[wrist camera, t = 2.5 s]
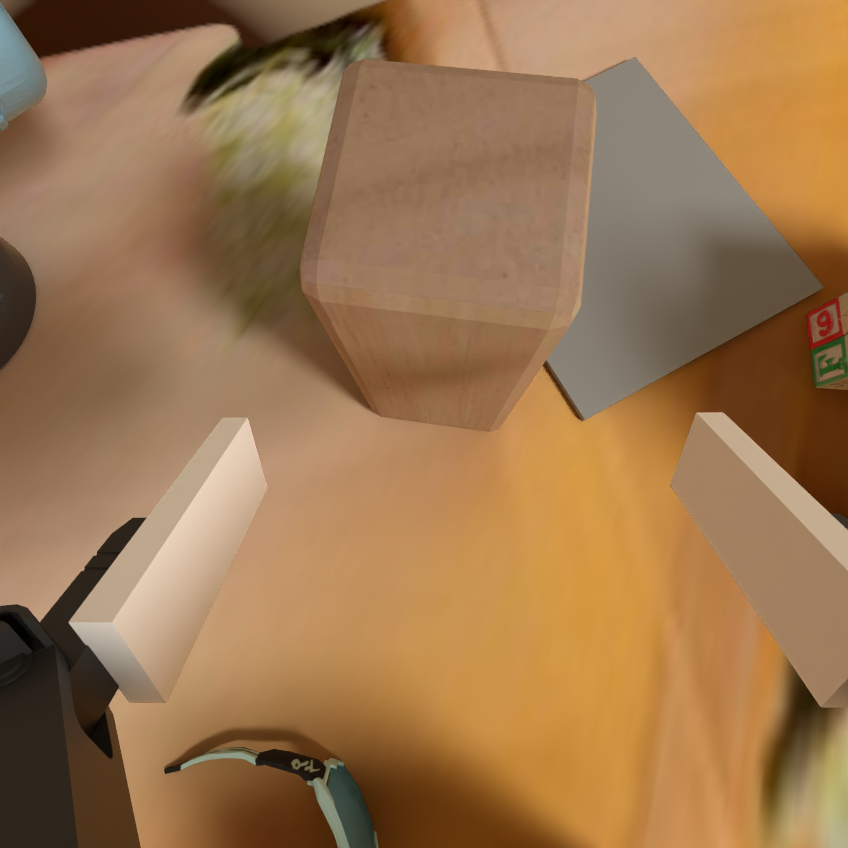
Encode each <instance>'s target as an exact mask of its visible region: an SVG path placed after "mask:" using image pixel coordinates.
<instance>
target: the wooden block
mask: <svg viewBox="0 0 848 848" xmlns="http://www.w3.org/2000/svg"><path fill="white" fill-rule="evenodd" d="M596 116H597V112H596V98H595V94H594V91H593V89H592V86H590V85H588V84H586V83H584V82H582V81H581V80H579V79H574V78H564V77H553V76H542V75H531V74H520V73H509V72H499V71H488V70H477V69H466V68H455V67H444V66H434V65H423V64H412V63H401V62H390V61H379V60H369V59H364V60H361V61H357V62H354V63H351V64H349V66H348V67H347V68H346V69H345V71H344V72H343V75H342V80H341V84H340V88H339V93H338V97H337V102H336V106H335V110H334V115H333V119H332V123H331V128H330V132H329V137H328V141H327V145H326V150H325V154H324V159H323V163H322V167H321V172H320V176H319V181H318V185H317V189H316V194H315V198H314V202H313V207H312V211H311V216H310V220H309V224H308V229H307V233H306V238H305V242H304V246H303V251H302V255H301V260H300V264H299V269H298V275H299V280H300V285H301V289H302V292H303V294H304V296H305V297H306V299H307V301H308V302H309V304H310V306H311V308H312V309H313V311H314V313H315V314H316V316H317V318H318V319H319V321H320V323H321V324H322V326H323V328H324V329H325V331H326V333H327V335H328V336H329V338H330V340H331V341H332V343H333V345H334V346H335V348H336V350H337V351H338V353H339V355H340V357H341V358H342V360H343V362H344V363H345V365H346V367H347V368H348V370H349V372H350V373H351V375H352V377H353V378H354V380H355V382H356V384H357V385H358V387H359V389H360V390H361V392H362V394H363V395H364V397H365V399H366V400H367V402H368V404H369V406H370V407H371V409H372V411H373V412H375V413H376V414H378V415H380V416H381V417H387V418H394V419H401V420H408V421H416V422H423V423H430V424H437V425H444V426H452V427H459V428H466V429H473V430H480V431H487V432H489V431H493V430H497V429H499V428H500V426H501V425H502V423H503V422H504V421H505V419H506V418H507V416H508V415H509V413H510V412H511V410H512V409H513V407H514V406H515V405H516V403H517V402H518V400H519V399H520V397H521V396H522V394H523V393H524V392H525V390H526V389H527V387H528V386H529V384H530V383H531V381H532V380H533V378H534V377H535V376H536V374H537V373H538V371H539V370H540V368H541V367H542V365H543V364H544V363H545V361H546V360H547V358H548V357H549V355H550V354H551V352H552V351H553V349H554V348H555V347H556V345H557V344H558V342H559V341H560V339H561V338H562V336H563V335H564V333H565V332H566V331H567V329H568V328H569V326H570V325H571V323H572V321H573V320H574V318H575V316H576V314H577V313H578V311H579V309H580V307H581V299H582V287H583V274H584V262H585V250H586V238H587V226H588V214H589V202H590V189H591V177H592V165H593V153H594V141H595V129H596Z"/></svg>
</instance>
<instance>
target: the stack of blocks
mask: <svg viewBox="0 0 848 848" xmlns="http://www.w3.org/2000/svg"><path fill="white" fill-rule="evenodd" d="M806 317H807V326H808V334H809V343H810V349H811V354H812V363H813V373H814V382H815V388H824V389H839V390H848V292H847V293H845V294H843V295H841V296H838V297H836V298H835V299H833V300H831V301H829V302H827V303H826V304H824V305H822V306H821V307H819V308H817V309H815V310H813V311H811V312H809V313H808V314H807V315H806Z"/></svg>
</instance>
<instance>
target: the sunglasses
mask: <svg viewBox="0 0 848 848" xmlns="http://www.w3.org/2000/svg"><path fill="white" fill-rule="evenodd" d="M223 758H236V759H244V760H246V761H248V762H250V763H252V764H254V765H256V766H258V765H267V766H271V767H274V768H278V769H281V770H285V771H288V772H291V773H295V774H298V775H300V776H301V777H302V778H303V779H304V780H305V781H307V785H310V786H313V787H314V789H315V793H316V798H317V801H318V803H319V805H320V807H321V809H322V811H323V813H324V815H325V817H326V819H327V821H328V823H329V825H330V827H331V829H332V832H333V834H334V836H335V839H336V843H337V846H338V848H379V847H378V840H377V834H376V831H374V829H373V824H372V820H371V818H370V815H369V812H368V809H367V807H366V804H365V801H364V798H363V796H362V793H361V791H360V789H359V787H358V785H357V784H356V782H355V781H354V779H353V778H352V776H351V775H350V773H349V772H348V771H347V769H346V768H345V766H344V762H342V761H340V760H337V759H334V758H330V759H329V760H328V761H327V760H326V759H325V761H324V763H322V762H321V761H319V760H318V759H315V758H311V757H307V756H304V755H300V754H297V753H293V752H289V751H282V750H276V749H273V750H269V751H265V752H262V753H260V752H257V751H253V750H250V749H247V748H244V747H239V748H225V749H220V750H215V751H209V752H207V753H204V754H202V755H200V756H197V757H195V758H193V759H190V760H188V761H186V762H184V763H181V764H179V765H177V766H174V767H173V766H172V767H169V768H167V769H165V770H164V772H165V774H167V773H171V772H176V771H180V770H182V769H184V768H186V767H188V766H191V765H193V764H195V763H199V762H202V761H206V760H212V759H223ZM329 773H331V774H330V778H329V782H328V785H326V783H327V779H328V776H329Z"/></svg>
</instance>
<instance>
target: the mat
mask: <svg viewBox="0 0 848 848" xmlns="http://www.w3.org/2000/svg"><path fill="white" fill-rule="evenodd" d="M584 83H586V84H588V85H590V86H592V89H593V91H594V94H595V98H596V112H597V116H596V129H595V141H594V153H593V165H592V177H591V189H590V202H589V214H588V226H587V238H586V250H585V262H584V274H583V287H582V299H581V307H580V309H579V311H578V313H577V314H576V316H575V318H574V320H573V321H572V323H571V325H570V326H569V328H568V329H567V331H566V332H565V333H564V335H563V336H562V338H561V339H560V341H559V342H558V344H557V345H556V347H555V348H554V349H553V351H552V352H551V354H550V355H549V357H548V358H547V360H546V361H545V364H546V365H547V367H548V368H549V370H550V372H551V373H552V375H553V376H554V378H555V379H556V381H557V382H558V384H559V386H560V387H561V389H562V390H563V392H564V393H565V395H566V397H567V398H568V400H569V401H570V403H571V404H572V406H573V408H574V409H575V411H576V412H577V414H578V415H579V417H580V419H581V420H582V421H584V420H586V419H587V418H589V417H591V416H593V415H595V414H596V413H598V412H600V411H602V410H604V409H605V408H607V407H609V406H611V405H613V404H615V403H616V402H618V401H620V400H622V399H624V398H625V397H627V396H629V395H631V394H633V393H635V392H636V391H638V390H640V389H642V388H644V387H645V386H647V385H649V384H651V383H653V382H654V381H656V380H658V379H660V378H662V377H664V376H665V375H667V374H669V373H671V372H673V371H674V370H676V369H678V368H680V367H682V366H683V365H685V364H687V363H689V362H691V361H693V360H694V359H696V358H698V357H700V356H702V355H703V354H705V353H707V352H709V351H711V350H713V349H714V348H716V347H718V346H720V345H722V344H723V343H725V342H727V341H729V340H731V339H732V338H734V337H736V336H738V335H740V334H742V333H743V332H745V331H747V330H749V329H751V328H752V327H754V326H756V325H758V324H760V323H761V322H763V321H765V320H767V319H769V318H771V317H772V316H774V315H776V314H778V313H780V312H781V311H783V310H785V309H787V308H789V307H790V306H792V305H794V304H796V303H798V302H800V301H801V300H803V299H805V298H807V297H809V296H810V295H812V294H814V293H816V292H818V291H819V290H821V289H823V288H824V286H823V285H822V284H821V283H820V282H819V280H818V279H817V278H816V277H815V275H814V274H813V273H812V272H811V271H810V269H809V268H808V267H807V266H806V264H805V263H804V262H803V261H802V260H801V258H800V257H799V256H798V255H797V253H796V252H795V251H794V250H793V249H792V247H791V246H790V245H789V244H788V243H787V241H786V240H785V239H784V238H783V236H782V235H781V234H780V233H779V232H778V230H777V229H776V228H775V227H774V225H773V224H772V223H771V222H770V221H769V219H768V218H767V217H766V216H765V214H764V213H763V212H762V211H761V210H760V208H759V207H758V206H757V205H756V203H755V202H754V201H753V200H752V199H751V197H750V196H749V195H748V194H747V193H746V191H745V190H744V189H743V188H742V186H741V185H740V184H739V183H738V182H737V180H736V179H735V178H734V177H733V175H732V174H731V173H730V172H729V171H728V169H727V168H726V167H725V166H724V164H723V163H722V162H721V161H720V160H719V158H718V157H717V156H716V155H715V153H714V152H713V151H712V150H711V149H710V147H709V146H708V145H707V144H706V143H705V141H704V140H703V139H702V138H701V136H700V135H699V134H698V133H697V132H696V130H695V129H694V128H693V127H692V125H691V124H690V123H689V122H688V121H687V119H686V118H685V117H684V116H683V114H682V113H681V112H680V111H679V110H678V108H677V107H676V106H675V105H674V103H673V102H672V101H671V100H670V99H669V97H668V96H667V95H666V94H665V92H664V91H663V90H662V89H661V88H660V86H659V85H658V84H657V83H656V82H655V80H654V79H653V78H652V77H651V75H650V74H649V73H648V72H647V71H646V69H645V68H644V67H643V66H642V64H641V63H640V62H639V61H638V60H637V58H636V57H634V58H632V59H629V60H627V61H625V62H623V63H621V64H619V65H617V66H615V67H613V68H611V69H609V70H607V71H605V72H603V73H601V74H598V75H596V76H594V77H592V78H590V79H588V80H586V81H584Z"/></svg>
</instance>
